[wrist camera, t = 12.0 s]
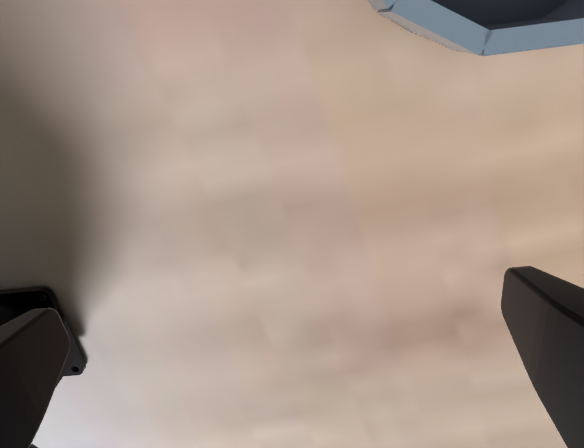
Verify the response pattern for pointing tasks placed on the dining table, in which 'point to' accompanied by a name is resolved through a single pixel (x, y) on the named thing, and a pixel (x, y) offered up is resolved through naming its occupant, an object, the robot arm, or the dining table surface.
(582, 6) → the bowl
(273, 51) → the dining table surface
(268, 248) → the dining table surface
